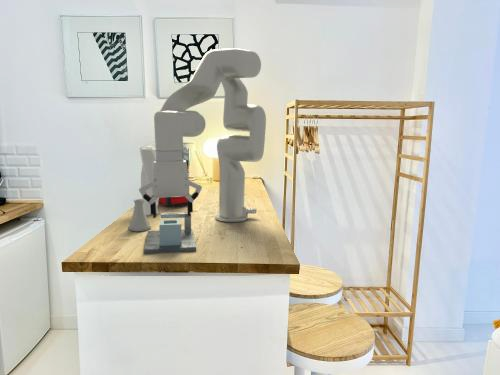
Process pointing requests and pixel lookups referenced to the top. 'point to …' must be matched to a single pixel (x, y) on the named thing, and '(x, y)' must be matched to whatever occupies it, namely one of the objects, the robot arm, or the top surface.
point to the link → (170, 232)
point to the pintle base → (187, 245)
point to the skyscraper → (148, 174)
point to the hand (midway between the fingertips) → (172, 215)
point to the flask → (139, 218)
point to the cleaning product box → (173, 200)
